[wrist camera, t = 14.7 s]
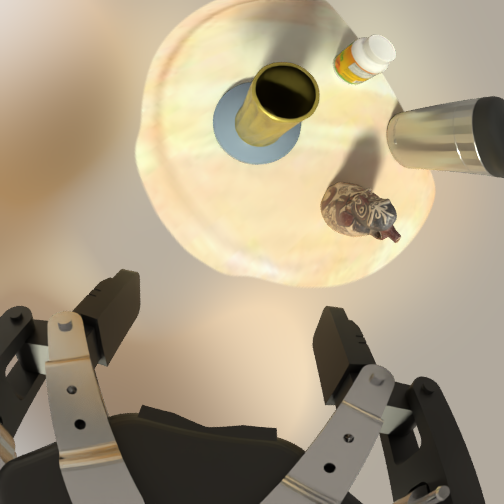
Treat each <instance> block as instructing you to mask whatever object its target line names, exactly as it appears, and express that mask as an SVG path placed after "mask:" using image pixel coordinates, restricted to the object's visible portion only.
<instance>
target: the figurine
mask: <svg viewBox="0 0 504 504" xmlns="http://www.w3.org/2000/svg"><path fill="white" fill-rule="evenodd" d="M320 207H321V213H322V216H323V218H324V220H325V222H326V223H327V225H328V226H330V227H331V228H332V229H333V230H334V231H336V232H338V233H340V234H344V235H347V236H352V237H360V236H366V235H372V236H373V237H375V238H376V239H380V240H383V239H385V238H387V237H389V238H390V239H391V240H393V241H394V242H395V243H397V242H398V241H399V240H400V238H401V235H400V234H399V233H398V232H397V231H396V230H395V228H394V226H393V224H394V222H395V220H396V218H397V215H396V210H395V208H394V206H393V205H392V204H391V202H390V200H389V199H382V198H379V197H378V196H377V195H376V194H374V193H372V192H371V189H370V188H368V189H363V188H362V187H361V186H358V185H355V184H350V183H342V182H338V183H337V184H335V185H333V186H331V187H329V188H328V189H327V192H326V194H325V195H324V198H323V200H322V202H321V205H320Z"/></svg>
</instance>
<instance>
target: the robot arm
mask: <svg viewBox="0 0 504 504" xmlns="http://www.w3.org/2000/svg"><path fill="white" fill-rule="evenodd" d="M387 140H388V145H389V148H390V151H391V153H392V155H393V156H394V158H395V159H396V160H397V161H398V162H399V163H400V164H401V165H402V166H404V167H407V168H413V169H426V170H439V171H451V172H461V173H470V174H479V175H487V176H494V177H502V178H504V100H503V99H501V98H499V97H495V96H494V97H493V96H492V97H483V98H477V99H470V100H463V101H457V102H452V103H446V104H440V105H435V106H430V107H425V108H420V109H415V110H411V111H406V112H402V113H399V114H396V115H395V116H394V117H393V118H392V119H391V120H390V122H389V125H388V129H387ZM139 310H140V276H139V273H138V272H134V271H129V270H125V269H121V270H120V271H119V272H118V273H117V274H116V275H115V276H114V277H113V278H108V279H105V280H103V281H101V282H100V283H99V284H98V285H97V286H96V287H95V288H94V290H92V291H91V292H90V293H89V295H87V296H86V297H85V298H84V299H83V301H81V302H80V304H79V305H78V306H77V307H76V308H75V309H74V310H73V311H72V312H71V311H63V312H59V313H56V314H55V315H53V316H52V317H51V318H50V319H49V321H43V320H34V319H33V317H32V313H31V311H30V309H29V308H27V307H24V306H16V307H13V308H10V309H9V310H7V311H6V312H5V313H4V314H3V315H2V316H1V317H0V504H362V503H361V502H360V501H359V500H358V499H356V498H355V497H354V496H353V495H352V494H350V493H349V492H348V491H349V489H350V487H351V485H352V484H353V482H354V481H355V478H356V477H357V475H358V474H359V472H360V470H361V468H362V466H363V465H364V463H365V461H366V459H367V457H368V455H369V453H370V451H371V449H372V447H373V445H374V443H375V441H376V439H377V437H378V434H380V438H381V442H382V447H383V451H384V456H385V460H386V465H387V469H388V475H389V479H390V485H391V490H392V495H393V501H394V503H393V504H485V500H484V497H483V494H482V490H481V487H480V484H479V481H478V477H477V475H476V471H475V469H474V466H473V463H472V461H471V457H470V455H469V452H468V450H467V447H466V444H465V442H464V440H463V437H462V435H461V432H460V430H459V427H458V425H457V423H456V421H455V418H454V416H453V414H452V412H451V410H450V407H449V405H448V403H447V401H446V399H445V397H444V395H443V393H442V391H441V389H440V387H439V386H438V385H437V383H436V382H434V381H433V380H432V379H429V378H427V377H418V378H416V379H415V380H414V381H413V383H412V384H411V385H407V384H402V383H398V382H395V380H394V377H393V375H392V374H391V373H390V372H389V371H388V370H387V369H386V368H384V367H382V366H379V365H376V363H375V360H374V358H373V356H372V354H371V352H370V349H369V347H368V345H367V344H366V340H365V338H363V334H362V332H361V330H360V328H359V327H358V326H357V325H356V324H355V323H354V322H353V321H352V320H348V318H347V315H346V313H345V311H344V309H343V308H338V307H330V306H326V307H325V308H324V310H323V313H322V315H321V318H320V320H319V323H318V326H317V328H316V331H315V333H314V337H313V351H314V355H315V359H316V364H317V369H318V373H319V377H320V382H321V387H322V392H323V397H324V401H325V405H335V406H336V411H335V412H334V413H333V415H332V416H331V418H330V419H329V421H328V422H327V423H326V425H325V426H324V428H323V429H322V430H321V432H320V433H319V434H318V436H317V437H316V439H315V440H314V441H313V442H312V444H311V445H310V447H308V449H307V450H306V451H304V450H303V449H302V448H300V447H298V446H297V445H295V444H293V443H291V442H289V441H286V440H284V439H281V438H278V437H277V429H276V428H266V427H255V426H246V425H241V426H227V427H205V426H202V425H200V424H197V423H195V422H193V421H190V420H188V419H186V418H184V417H181V416H179V415H177V414H175V413H171V412H167V411H163V410H159V409H155V408H152V407H148V406H145V405H142V407H141V409H140V412H139V413H125V414H118V415H114V416H111V417H110V416H109V414H108V411H107V408H106V406H105V402H104V399H103V396H102V393H101V390H100V387H99V383H98V380H97V376H96V372H95V367H96V365H97V364H101V365H104V366H108V365H109V363H110V361H111V359H112V358H113V356H114V354H115V353H116V351H117V349H118V347H119V346H120V344H121V342H122V341H123V339H124V337H125V336H126V334H127V332H128V331H129V329H130V328H131V326H132V324H133V323H134V321H135V319H136V318H137V316H138V314H139ZM15 354H16V356H17V359H18V361H17V362H16V364H15V365H14V367H13V368H12V369H11V371H10V372H9V374H8V375H7V377H6V376H5V371H6V367H7V365H8V364H9V362H10V361H11V360H12V358H13V357H14V356H15ZM45 379H46V383H47V391H48V399H49V406H50V411H51V417H52V423H53V427H54V432H55V436H56V442H54V443H52V444H49V445H47V446H45V447H42V448H40V449H37V450H35V451H32V452H30V453H27V454H25V455H22V456H20V457H17V455H16V452H15V442H14V439H13V438H14V436H15V434H16V431H17V429H18V427H19V426H20V424H21V422H22V419H23V418H24V416H25V414H26V412H27V410H28V408H29V406H30V405H31V403H32V401H33V399H34V398H35V396H36V394H37V392H38V391H39V389H40V387H41V385H42V384H43V382H44V380H45ZM416 426H417V427H418V430H419V433H420V436H421V446H420V448H419V447H418V444H417V441H416V437H415V434H414V432H413V429H414V428H415V427H416Z"/></svg>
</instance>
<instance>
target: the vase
mask: <svg viewBox="0 0 504 504" xmlns="http://www.w3.org/2000/svg"><path fill="white" fill-rule="evenodd" d="M318 103H319V88H318V85H317V82H316V81H315V79H314V77H313V76H312V75H311V74H310V73H309V72H308V71H307V70H305V69H304V68H302V67H301V66H299V65H296V64H293V63H287V62H277V63H272V64H269V65H267V66H265V67H263V68H262V69H261V70H260V71H259V72H258V73H257V75H256V76H255V77H254V79H253V82H252V84H251V85H250V88H249V90H248V93H247V96H246V99H245V100H244V103H243V106H242V107H241V108H240V109H239V111H238V112H237V114H236V117H235V129H236V132H237V134H238V136H239V137H240V138H241V139H242V140H243V141H244V142H246V143H247V144H249V145H251V146H256V147H265V146H268V145H271V144H273V143H275V142H276V141H277V140H278V139H279V138H280V137H281V136H282V135H283V134H284V133H286V132H287V131H289V130H290V129H291V128H293V127H294V126H295V125H297V124H298V123H300V122H301V121H303V120H305V119H306V118H308V117H310V116H311V115H312V114H313V113H314V112H315V110H316V108H317V106H318Z"/></svg>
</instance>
